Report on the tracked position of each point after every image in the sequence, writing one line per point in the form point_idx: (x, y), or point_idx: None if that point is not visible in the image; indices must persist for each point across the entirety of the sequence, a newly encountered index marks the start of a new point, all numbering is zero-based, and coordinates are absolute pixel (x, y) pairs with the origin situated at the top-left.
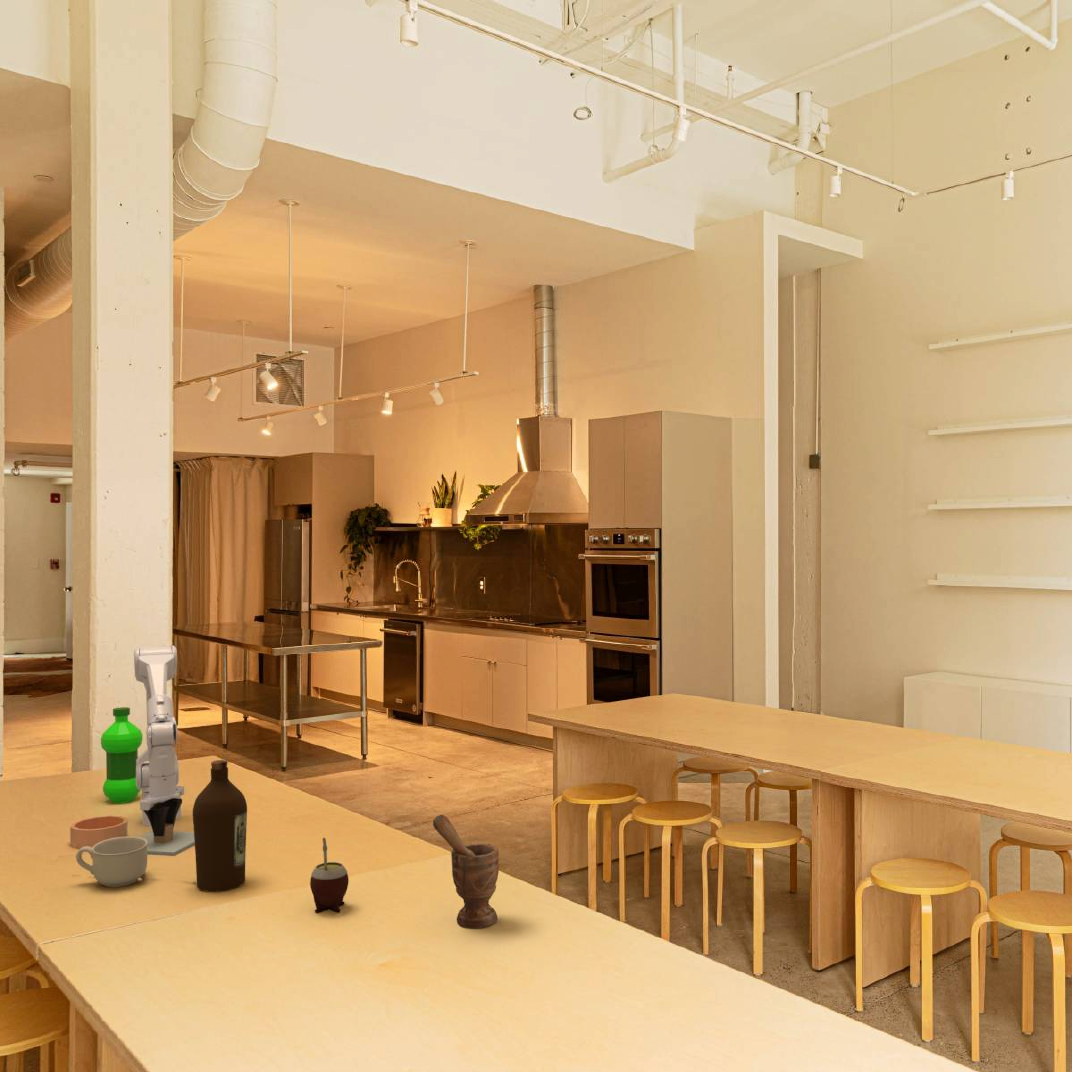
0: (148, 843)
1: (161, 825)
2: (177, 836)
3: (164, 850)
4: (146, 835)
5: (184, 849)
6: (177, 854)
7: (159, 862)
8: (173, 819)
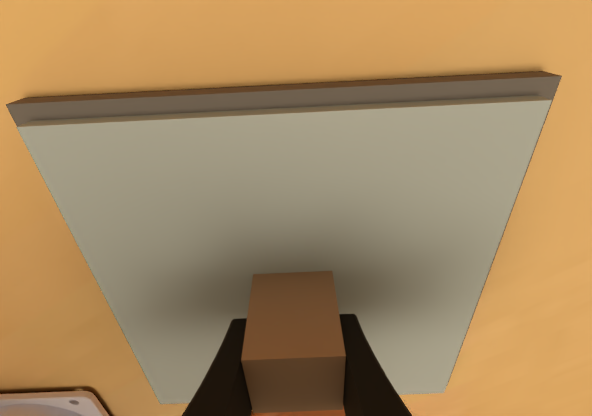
0: None
1: (388, 385)
2: (198, 280)
3: (492, 192)
4: None
5: (398, 100)
6: (521, 77)
7: (589, 136)
8: (227, 394)
